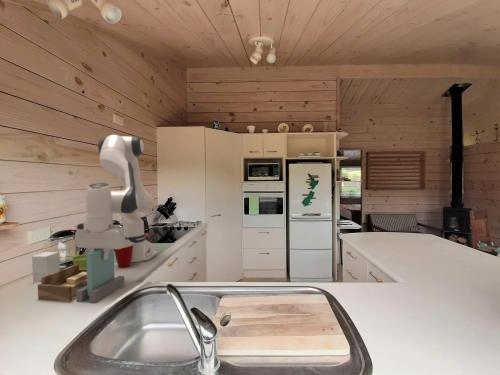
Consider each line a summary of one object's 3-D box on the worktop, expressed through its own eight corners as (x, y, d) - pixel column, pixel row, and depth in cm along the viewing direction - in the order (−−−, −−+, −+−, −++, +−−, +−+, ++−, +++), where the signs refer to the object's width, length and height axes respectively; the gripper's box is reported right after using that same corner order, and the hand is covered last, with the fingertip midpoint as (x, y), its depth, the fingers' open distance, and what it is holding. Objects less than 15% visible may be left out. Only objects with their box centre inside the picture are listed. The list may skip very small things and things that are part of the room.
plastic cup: (113, 264, 142) (112, 243, 142) (134, 261, 146) (134, 240, 146) (111, 270, 132) (111, 247, 132) (134, 267, 137) (134, 245, 136)
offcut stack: (85, 284, 111) (84, 270, 111) (95, 285, 110) (94, 271, 110) (59, 297, 100) (59, 281, 99) (70, 298, 99) (70, 282, 98)
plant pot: (98, 271, 132) (98, 254, 132) (85, 278, 123) (84, 260, 122) (81, 270, 133) (81, 254, 133) (66, 277, 124) (66, 259, 123)
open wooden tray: (78, 284, 116) (77, 263, 115) (105, 286, 113) (105, 264, 113) (38, 303, 98) (37, 278, 98) (69, 306, 95) (68, 280, 95)
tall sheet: (110, 283, 109) (109, 245, 108) (114, 283, 108) (113, 245, 108) (87, 295, 97) (86, 253, 97) (92, 296, 97) (90, 253, 96)
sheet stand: (108, 287, 112) (107, 274, 111) (124, 288, 110) (124, 276, 110) (76, 305, 96) (76, 290, 96) (95, 307, 94) (94, 292, 94)
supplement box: (61, 278, 123) (60, 251, 123) (47, 284, 116) (46, 256, 116) (46, 277, 124) (45, 251, 124) (32, 283, 117) (31, 256, 116)
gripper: (128, 223, 103) (129, 257, 104) (84, 222, 107) (85, 255, 107) (117, 226, 97) (118, 263, 97) (71, 225, 101) (72, 260, 101)
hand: (101, 259), depth 102 cm, fingers closed on tall sheet, 2 cm apart
